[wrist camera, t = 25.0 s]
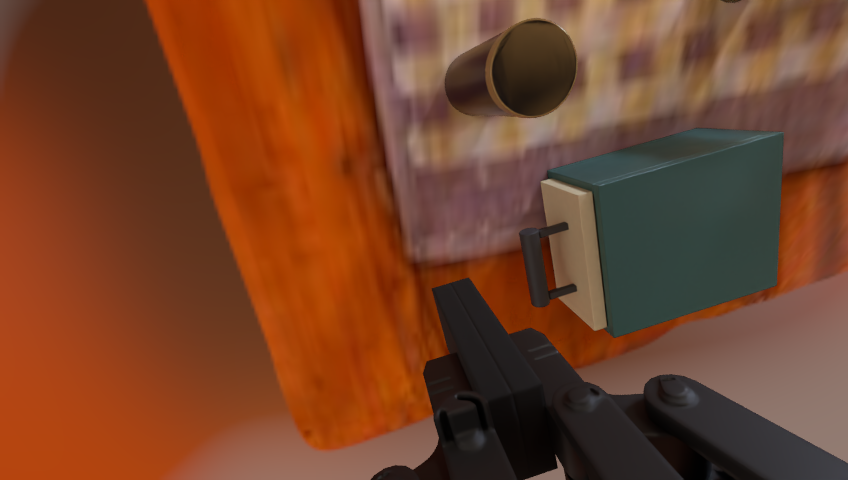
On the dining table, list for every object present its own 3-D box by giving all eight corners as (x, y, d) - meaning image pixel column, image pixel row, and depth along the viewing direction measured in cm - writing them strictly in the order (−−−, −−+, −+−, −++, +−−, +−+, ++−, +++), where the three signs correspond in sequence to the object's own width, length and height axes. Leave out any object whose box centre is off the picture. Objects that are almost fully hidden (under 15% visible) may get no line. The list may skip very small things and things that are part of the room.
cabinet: (565, 295, 43) (614, 338, 35) (546, 170, 39) (598, 185, 31) (699, 254, 44) (777, 285, 36) (696, 127, 40) (784, 131, 32)
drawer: (519, 309, 42) (549, 345, 35) (497, 193, 38) (526, 210, 31) (686, 257, 43) (744, 283, 37) (682, 140, 39) (747, 146, 33)
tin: (437, 58, 34) (481, 30, 22) (497, 43, 35) (572, 7, 23) (451, 122, 36) (499, 128, 24) (508, 107, 36) (582, 105, 25)
